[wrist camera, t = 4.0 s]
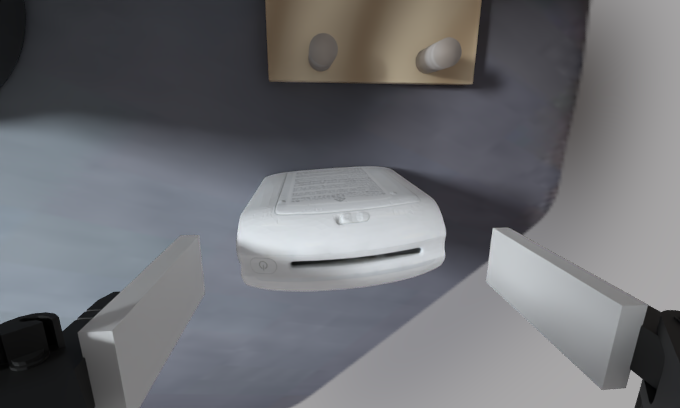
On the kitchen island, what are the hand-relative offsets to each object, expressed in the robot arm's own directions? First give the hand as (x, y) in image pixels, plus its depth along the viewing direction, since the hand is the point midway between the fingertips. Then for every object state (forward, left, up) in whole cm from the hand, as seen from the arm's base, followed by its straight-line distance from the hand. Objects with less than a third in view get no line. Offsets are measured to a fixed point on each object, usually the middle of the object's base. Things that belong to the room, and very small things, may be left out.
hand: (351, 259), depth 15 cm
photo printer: (0, 0, -12) cm, 12 cm away
